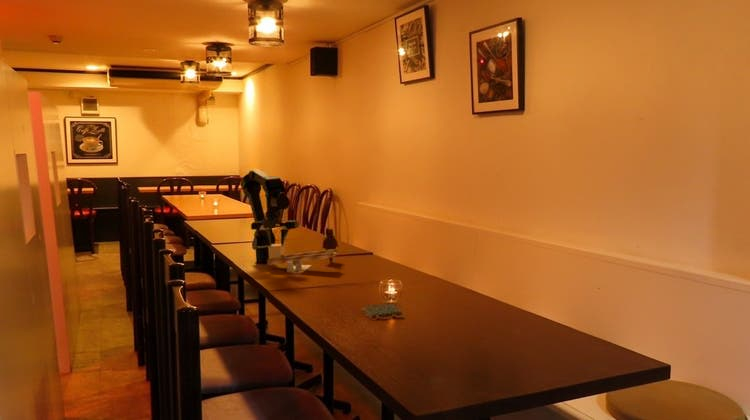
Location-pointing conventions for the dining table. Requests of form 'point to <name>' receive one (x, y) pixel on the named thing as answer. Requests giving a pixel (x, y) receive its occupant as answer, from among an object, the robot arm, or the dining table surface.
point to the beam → (304, 256)
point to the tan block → (276, 251)
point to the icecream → (329, 241)
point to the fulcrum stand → (297, 267)
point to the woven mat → (382, 311)
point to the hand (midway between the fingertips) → (276, 245)
